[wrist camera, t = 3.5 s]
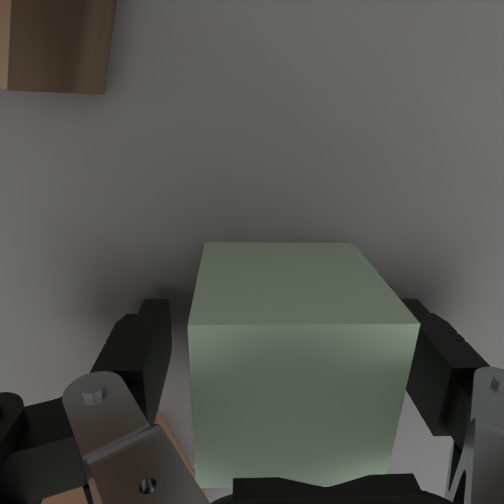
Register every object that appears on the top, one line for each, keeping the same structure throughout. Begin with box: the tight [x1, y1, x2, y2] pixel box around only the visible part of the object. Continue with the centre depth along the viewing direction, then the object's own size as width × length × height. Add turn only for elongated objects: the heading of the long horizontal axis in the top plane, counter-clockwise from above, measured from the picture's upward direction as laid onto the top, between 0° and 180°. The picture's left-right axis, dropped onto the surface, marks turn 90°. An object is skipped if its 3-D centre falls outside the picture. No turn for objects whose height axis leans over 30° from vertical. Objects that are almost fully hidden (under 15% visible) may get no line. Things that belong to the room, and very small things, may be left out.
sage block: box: [188, 242, 420, 489], centre depth 11 cm, size 5×5×5 cm
